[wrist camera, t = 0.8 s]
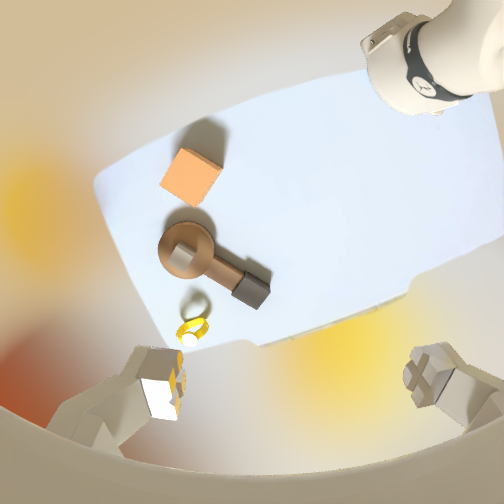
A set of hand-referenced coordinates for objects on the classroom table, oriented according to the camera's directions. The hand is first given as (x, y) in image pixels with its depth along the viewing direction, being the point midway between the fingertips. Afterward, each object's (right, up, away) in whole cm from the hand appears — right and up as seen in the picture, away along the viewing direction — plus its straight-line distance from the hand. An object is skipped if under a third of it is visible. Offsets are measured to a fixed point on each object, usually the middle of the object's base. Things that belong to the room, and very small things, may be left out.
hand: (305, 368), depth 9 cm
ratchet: (-8, +2, +38) cm, 39 cm away
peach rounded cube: (-10, +16, +34) cm, 38 cm away
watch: (-12, -9, +42) cm, 45 cm away
